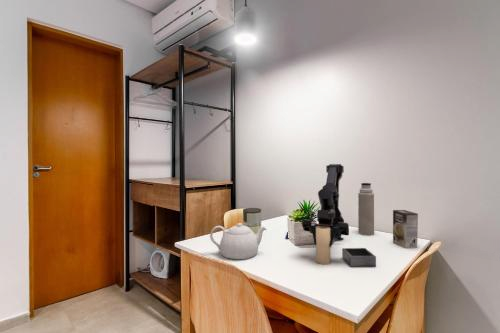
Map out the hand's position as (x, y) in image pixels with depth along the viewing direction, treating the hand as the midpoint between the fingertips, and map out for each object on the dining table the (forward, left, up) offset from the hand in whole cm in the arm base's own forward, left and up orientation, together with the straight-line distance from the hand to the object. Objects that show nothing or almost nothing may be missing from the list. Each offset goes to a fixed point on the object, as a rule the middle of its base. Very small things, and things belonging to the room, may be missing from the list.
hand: (322, 245), depth 106 cm
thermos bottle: (-28, +46, -7) cm, 54 cm away
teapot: (-22, -29, -7) cm, 37 cm away
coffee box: (-6, +49, -7) cm, 50 cm away
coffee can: (-48, -14, -7) cm, 51 cm away
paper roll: (-1, +1, -7) cm, 7 cm away
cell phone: (-38, +6, -8) cm, 39 cm away
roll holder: (+4, +14, -7) cm, 16 cm away
